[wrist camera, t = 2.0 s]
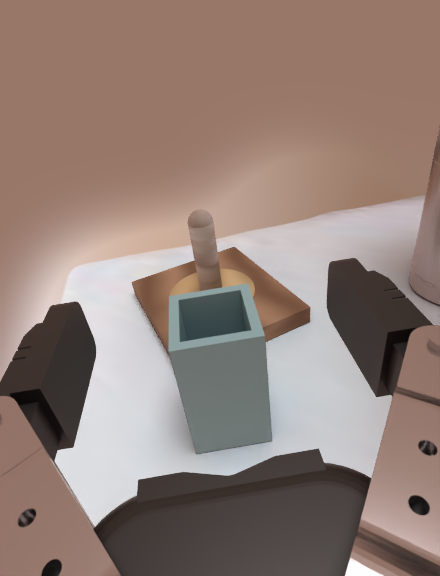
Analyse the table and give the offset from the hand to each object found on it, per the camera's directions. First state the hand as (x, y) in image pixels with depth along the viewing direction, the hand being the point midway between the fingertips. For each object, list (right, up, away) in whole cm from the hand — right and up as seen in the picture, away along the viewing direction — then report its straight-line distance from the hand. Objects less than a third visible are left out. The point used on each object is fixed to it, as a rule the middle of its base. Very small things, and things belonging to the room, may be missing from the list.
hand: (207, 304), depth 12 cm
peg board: (0, -2, +32) cm, 32 cm away
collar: (+1, -10, +19) cm, 22 cm away
